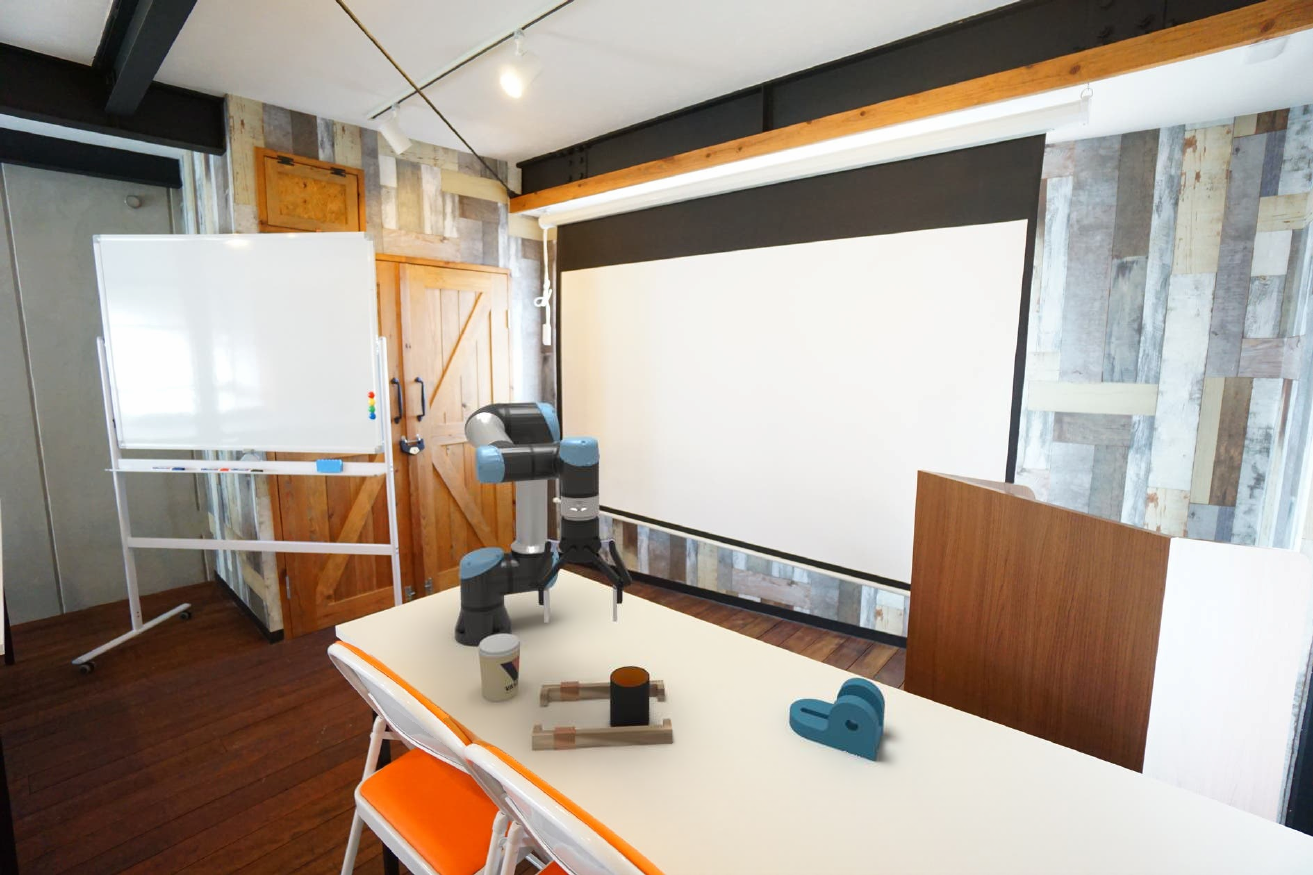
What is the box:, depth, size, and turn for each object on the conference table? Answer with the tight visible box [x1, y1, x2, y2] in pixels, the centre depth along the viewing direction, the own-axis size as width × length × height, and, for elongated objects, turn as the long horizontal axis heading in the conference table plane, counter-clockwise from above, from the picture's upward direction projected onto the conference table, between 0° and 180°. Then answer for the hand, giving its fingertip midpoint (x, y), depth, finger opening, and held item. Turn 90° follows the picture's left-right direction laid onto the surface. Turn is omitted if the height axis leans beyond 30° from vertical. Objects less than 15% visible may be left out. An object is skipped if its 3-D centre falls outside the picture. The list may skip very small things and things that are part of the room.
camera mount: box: [788, 677, 886, 762], centre depth 117 cm, size 18×10×10 cm, turn 60°
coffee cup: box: [477, 633, 521, 702], centre depth 130 cm, size 9×9×12 cm
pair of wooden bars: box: [531, 679, 673, 751], centre depth 121 cm, size 18×28×3 cm
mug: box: [609, 665, 651, 727], centre depth 121 cm, size 8×12×10 cm
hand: (581, 619), depth 114 cm, fingers open, 13 cm apart
